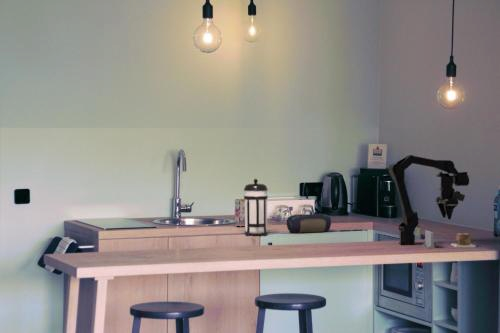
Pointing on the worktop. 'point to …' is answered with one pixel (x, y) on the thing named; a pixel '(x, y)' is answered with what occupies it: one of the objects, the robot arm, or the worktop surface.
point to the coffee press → (255, 208)
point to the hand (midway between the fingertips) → (446, 218)
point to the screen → (429, 239)
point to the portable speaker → (309, 223)
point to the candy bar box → (239, 210)
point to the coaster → (463, 246)
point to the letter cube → (462, 239)
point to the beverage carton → (417, 232)
